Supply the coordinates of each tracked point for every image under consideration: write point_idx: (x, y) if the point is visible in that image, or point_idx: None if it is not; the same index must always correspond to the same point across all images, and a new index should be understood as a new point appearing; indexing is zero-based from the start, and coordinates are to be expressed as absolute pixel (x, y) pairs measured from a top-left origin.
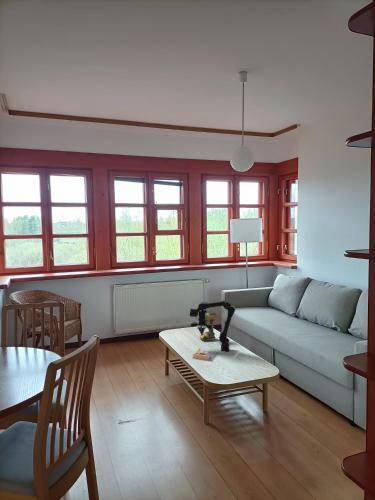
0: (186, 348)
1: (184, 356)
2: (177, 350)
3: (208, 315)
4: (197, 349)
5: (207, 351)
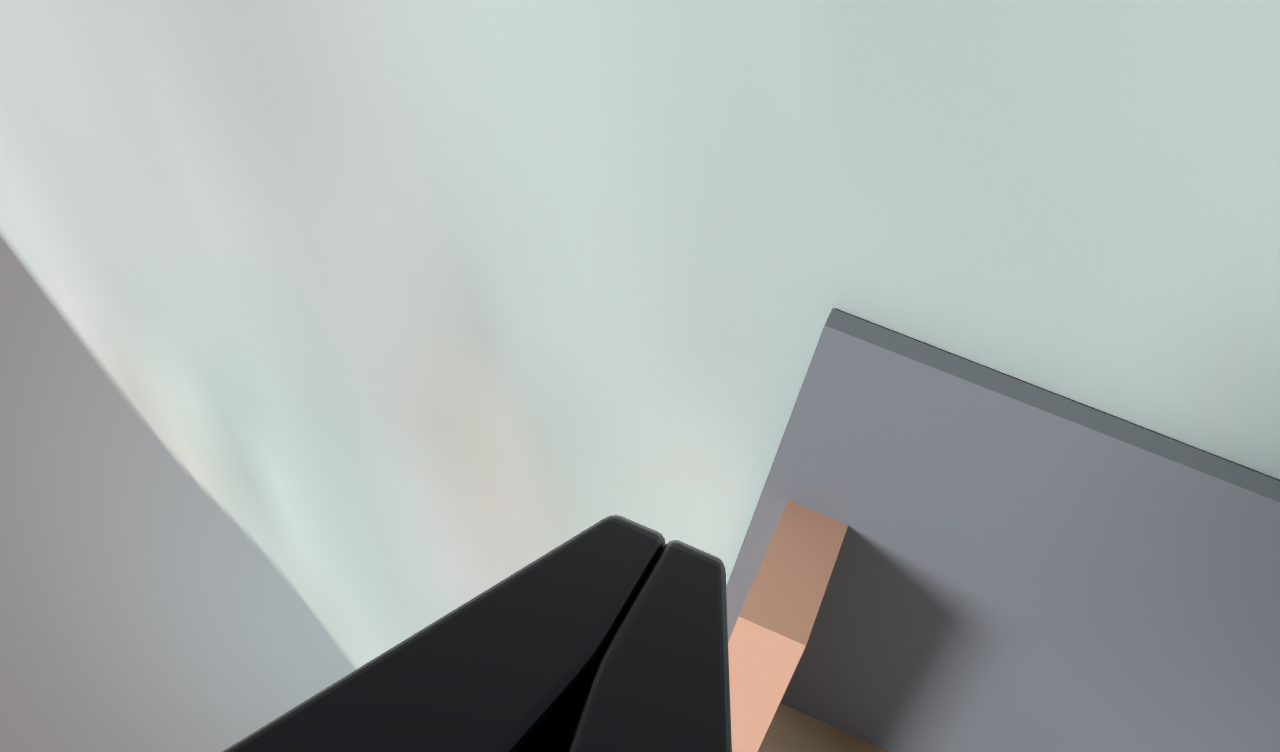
0: (201, 7)
1: None
2: (8, 234)
3: None
4: None
5: (1214, 509)
